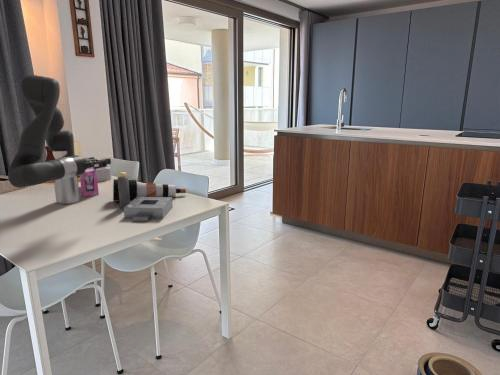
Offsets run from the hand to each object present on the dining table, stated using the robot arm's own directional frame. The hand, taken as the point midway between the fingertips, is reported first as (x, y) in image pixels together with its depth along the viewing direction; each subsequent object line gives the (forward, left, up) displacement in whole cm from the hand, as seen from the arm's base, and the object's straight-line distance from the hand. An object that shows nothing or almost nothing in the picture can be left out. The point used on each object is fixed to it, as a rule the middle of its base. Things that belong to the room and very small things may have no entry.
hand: (101, 160), depth 142 cm
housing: (+17, +4, -23) cm, 29 cm away
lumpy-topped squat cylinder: (-32, +66, -24) cm, 78 cm away
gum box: (-26, +39, -24) cm, 52 cm away
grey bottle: (+4, +10, -23) cm, 26 cm away
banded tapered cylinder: (+11, +25, -24) cm, 36 cm away
